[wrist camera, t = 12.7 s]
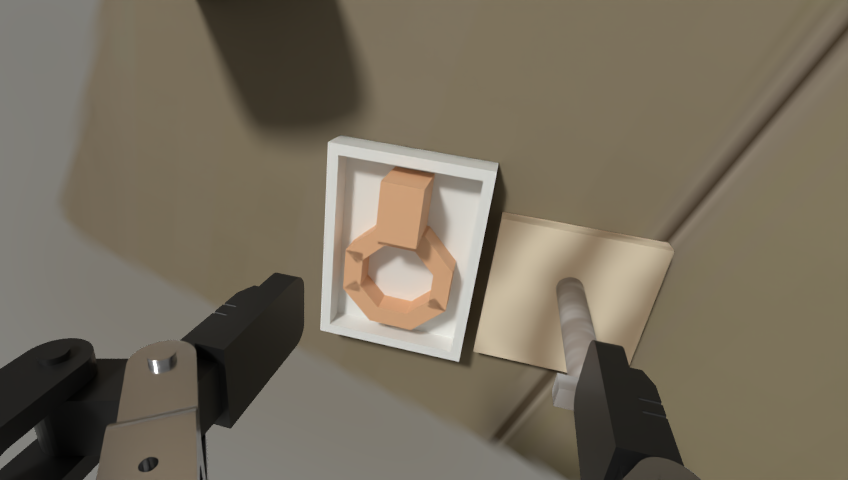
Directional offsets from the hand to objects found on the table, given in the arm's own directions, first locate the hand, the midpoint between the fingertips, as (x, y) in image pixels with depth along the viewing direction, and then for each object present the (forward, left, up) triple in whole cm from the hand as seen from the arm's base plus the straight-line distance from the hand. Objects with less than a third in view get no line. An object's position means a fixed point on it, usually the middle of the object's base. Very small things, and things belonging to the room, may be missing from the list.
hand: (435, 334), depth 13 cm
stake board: (-8, +10, -23) cm, 26 cm away
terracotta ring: (+5, +8, -22) cm, 24 cm away
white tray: (+5, +9, -23) cm, 25 cm away
